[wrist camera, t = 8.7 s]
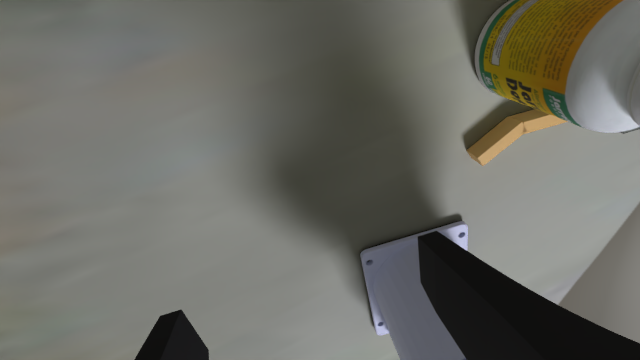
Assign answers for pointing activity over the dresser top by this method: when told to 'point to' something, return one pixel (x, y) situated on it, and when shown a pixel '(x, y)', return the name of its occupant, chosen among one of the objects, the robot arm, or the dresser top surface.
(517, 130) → the guard rails
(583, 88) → the supplement bottle
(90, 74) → the dresser top surface
